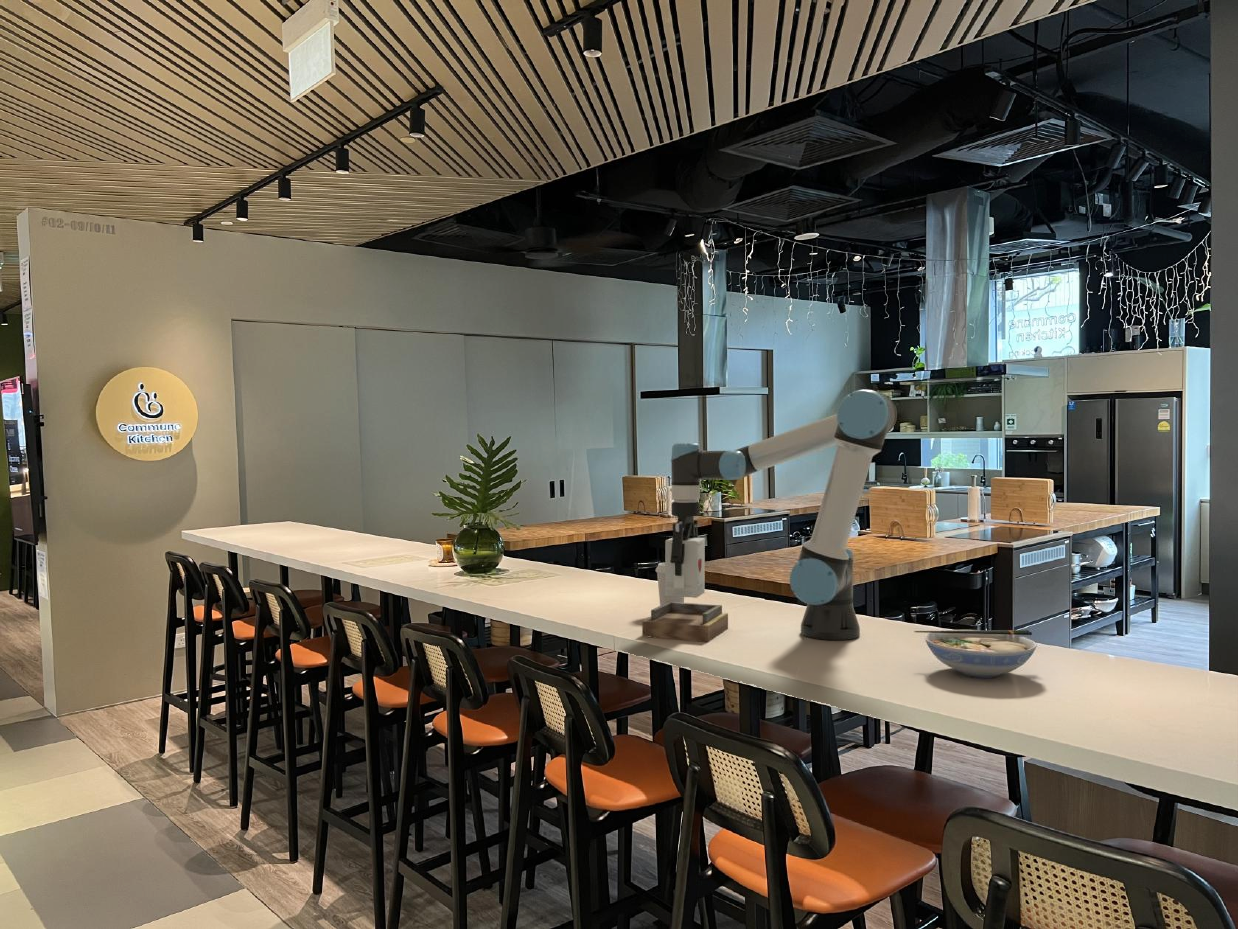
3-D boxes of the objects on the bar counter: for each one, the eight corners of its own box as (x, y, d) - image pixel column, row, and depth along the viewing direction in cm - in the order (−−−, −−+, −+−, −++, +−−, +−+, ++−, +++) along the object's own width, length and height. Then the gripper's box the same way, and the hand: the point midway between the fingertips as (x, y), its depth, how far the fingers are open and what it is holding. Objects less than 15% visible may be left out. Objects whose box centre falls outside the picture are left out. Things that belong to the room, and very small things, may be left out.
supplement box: (697, 598, 234) (697, 541, 234) (664, 596, 237) (664, 539, 237) (705, 592, 243) (705, 537, 242) (673, 591, 245) (673, 536, 245)
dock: (728, 628, 245) (728, 604, 245) (708, 642, 228) (708, 616, 228) (665, 623, 252) (665, 600, 252) (642, 636, 235) (642, 611, 235)
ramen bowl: (930, 686, 186) (930, 646, 186) (910, 659, 208) (910, 624, 208) (1058, 689, 182) (1058, 649, 182) (1023, 662, 205) (1023, 627, 205)
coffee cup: (688, 612, 270) (688, 562, 269) (687, 618, 260) (687, 566, 260) (656, 611, 270) (656, 561, 270) (654, 617, 261) (654, 566, 261)
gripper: (685, 498, 251) (685, 578, 251) (657, 503, 230) (657, 590, 231) (711, 499, 248) (711, 580, 248) (685, 504, 228) (685, 592, 228)
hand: (685, 585), depth 240 cm, fingers closed on supplement box, 9 cm apart
